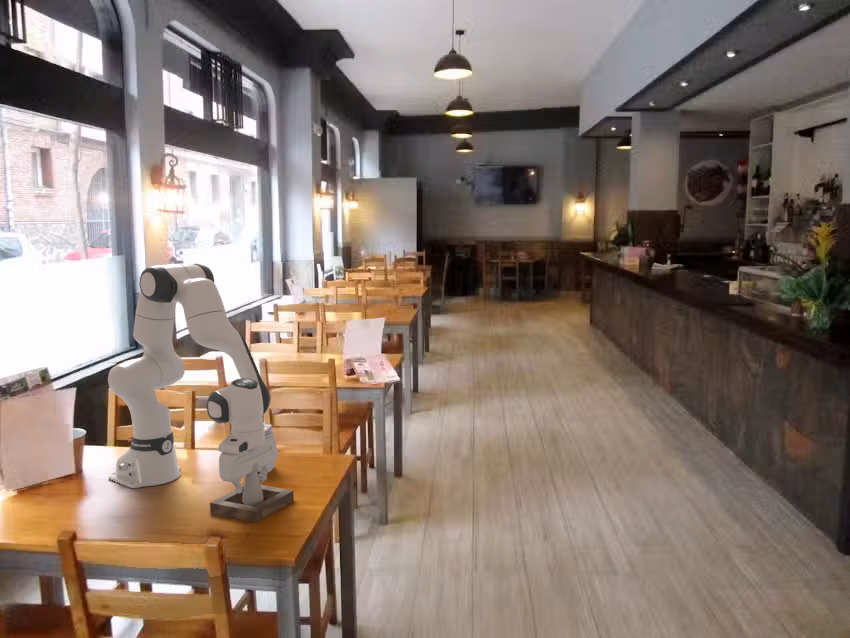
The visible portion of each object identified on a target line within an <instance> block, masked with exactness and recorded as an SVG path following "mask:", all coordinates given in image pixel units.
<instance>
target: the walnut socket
mask: <svg viewBox="0 0 850 638" xmlns="http://www.w3.org/2000/svg"><path fill="white" fill-rule="evenodd" d="M261 488H262V492H263V502H262V503H261V504H259V505H257V506H255V507H253V506H248V505H244V503H243V501H242V498H243V492H242V493H236V489H234V490H232V491H229V493H226V494H224V495H222V496H220V497H219V498H216V499H214V500H212V501H210V502H209V510H210V514H212V515H213V514H214V515H218V516H222V517H223V516H224V517H227V518H231V519H232V518H233V519H237V520H242V521H247V522H250V523H255V522H256V523H258V522H260V521H262V520H264V519H265V518H267V517H268V516H271V515H272V514H274V513H276V512H277V511H279V510H280V509H282V508H284V507H286V506H287V505H290V504H291V503H293V502H294V501H295V498H294V490H291V489H285V488H281V487H276V486H271V485H265V484H264V485H262V484H261ZM241 503H243V504H241ZM263 518H264V519H263Z"/></svg>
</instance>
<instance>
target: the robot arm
mask: <svg viewBox="0 0 850 638" xmlns="http://www.w3.org/2000/svg"><path fill="white" fill-rule="evenodd" d="M138 283H139V289H140V291H139V294H138V298H137V299H138V300H137V303H136V309H135V316H134V323H133V324H134V326H133V332H132V334H133V338H134V340H135V341H136V342H137V343H138V344H139V345H141V346H142V347H143V354H142V356H140V357H136V358H132V359H129V360H124V361H123V362H120V363H117V365H114V366H113V367H112V368H111V369H110V370H109V371H108V376H107V383H108V387H109V389H110V391H111V392H112V393H113V394H114V395H116V396H118V397H119V398H120V399H122V400H123V401H124V403H125V404H126V405H127V407H128V410H129V412H130V416H131V417H130V418H131V423H132V433H133V436H131V437H129V438H127V440H128V441H127V442H128V443H130V447H129V449H127V450H126V451H125V452H124V453H123V454H122V455H121V456H120V457H118V459H117V461H116V464H115V466H116V469H115V470H116V471H114V472H112V473H111V474H110V475H109V476H108V480H109V479H111V480H110V481H112V480H113V482H114V481H115V483H117V482H118V483H117V484H119V483H120V485H122V486H125V487H128V488H130V489H138V488H142V487H151V486H152V487H153V486H159V485H164V484H167V483H171V482H173V481H175V480H178V478H179V477H180V476H181V472H180V471H181V466H180V465H179V463H178V456H177V452H176V447H175V445H174V444H175V439H174V438H175V435H174V432H173V431H172V424H171V423H172V420H171V410H170V408H169V407H168V406H167V404H164V403H162V402H160V401H159V399H158V397H157V395H156V391H157V390H160V389H163V388H167V387H171V386H173V385H174V384H176V383H177V382H179V381H181V379H183V377H184V374H185V370H186V367H185V363H184V361H183V358H181V356H180V355H178V354H177V353H176V351H175V348H174V345H173V344H174V343H173V337H174V336H173V334H174V324H175V316H176V306H177V303H179V304H181V306H182V309H183V314H184V319H185V322H186V326H187V329H188V334H189V335H190V337H191V338H192V340H193V341H194V342H195V343H196V344H197V345H200V346H202V347H204V348H207V349H212V350H216V351H219V352H223V353H224V354H225V355H227V356H229V357H230V358H231V359H232V361H233V363H234V366H235V368H236V370H237V373H238V375H239V377H240V378H237V379H233V380H232V381H231V382H230V384H229V385H227V386H225V387H223V388H220V389H217V390H214V391H213V392H211V393H210V395H209V396H208V398H207V401H206V411H207V415H208V417H209V418H210V419H211V420H213V422H215V423H217V424H226V423H227V424H230V425H231V429H230V431H231V433H229V434H228V436H227V437H226V438H225V439H224V440H223V441H221V442H220V443H219V445H218V448H217V449H218V452H221V453H220V455H219V459H218V471H219V477H220V479H221V480H222V481H223V482H228V483H232V485H233V486H234V487H235V489H234V490H236V493H242V492H244V484H243V485H242V484H241V481H242V478H244V477H245V475H247V474H249V473H252V472H253V465H254V464H255V463H258V464H259V469H260V468H261V473H259V474H258V476H259V480H260V482H261V483H263V482H265V481H267V480H268V477H267V476H268V473H267V472H268V469H269V464H270V463H272V462H274V463H275V462H276V461H277V460H278V457H279V453H278V445H277V441H276V439H275V433H274V432H272V431H273V430H272V431H270V430H267V431H265V428H264V425H265V423H264V420H263V417H264V416H263V415H265V414H266V412H267V411H268V409H269V407H270V404H271V400H272V397H271V394H270V391H269V389H268V386H267V385H266V383H264V380H263V379H262V377H261V375H260V372H259V370H258V367H257V365H256V363H255V360H254V358H253V354H252V353H251V350H250V348H249V346H248V344H247V342H246V339H245V337H244V336H243V334H242V333H241V332H240V331H239V330H237V329H235V328H234V325H232V324H231V322H230V320H229V318H228V316H227V312H226V309H225V306H224V302H223V299H222V296H221V294H220V292H219V289H218V287H217V286H216V283H215V277H214V273H213V272H212V270H211V269H210V267H208V266H205V265H204V264H200V263H183V262H181V263H173V264H162V265H160V264H156V265H151V266H149V267H146V268H144V269H143V271H142V272H141V274H140V277H139V282H138Z"/></svg>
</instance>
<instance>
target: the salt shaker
mask: <svg viewBox="0 0 850 638" xmlns="http://www.w3.org/2000/svg"><path fill="white" fill-rule="evenodd" d="M258 469H259V464H258V463H255V464H254V465H253V472H252V473H249V474H247V475H245V476H244V481H243V486H244V492H243V498H242V503H243V505H248V506H253V507H255V506H257V505H259V504H261V503H262V502H264V499H263V492H262V488H261V485H262V484H261V481H260V480H259V476H258V475H259V473H258V472H257V470H258Z"/></svg>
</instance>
